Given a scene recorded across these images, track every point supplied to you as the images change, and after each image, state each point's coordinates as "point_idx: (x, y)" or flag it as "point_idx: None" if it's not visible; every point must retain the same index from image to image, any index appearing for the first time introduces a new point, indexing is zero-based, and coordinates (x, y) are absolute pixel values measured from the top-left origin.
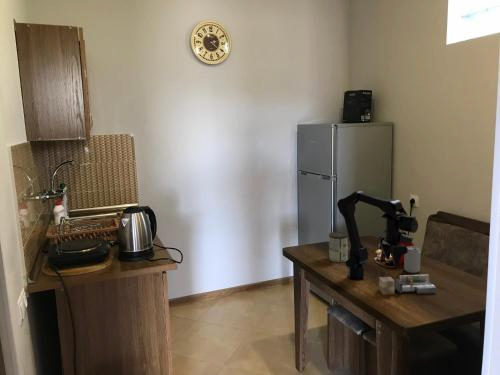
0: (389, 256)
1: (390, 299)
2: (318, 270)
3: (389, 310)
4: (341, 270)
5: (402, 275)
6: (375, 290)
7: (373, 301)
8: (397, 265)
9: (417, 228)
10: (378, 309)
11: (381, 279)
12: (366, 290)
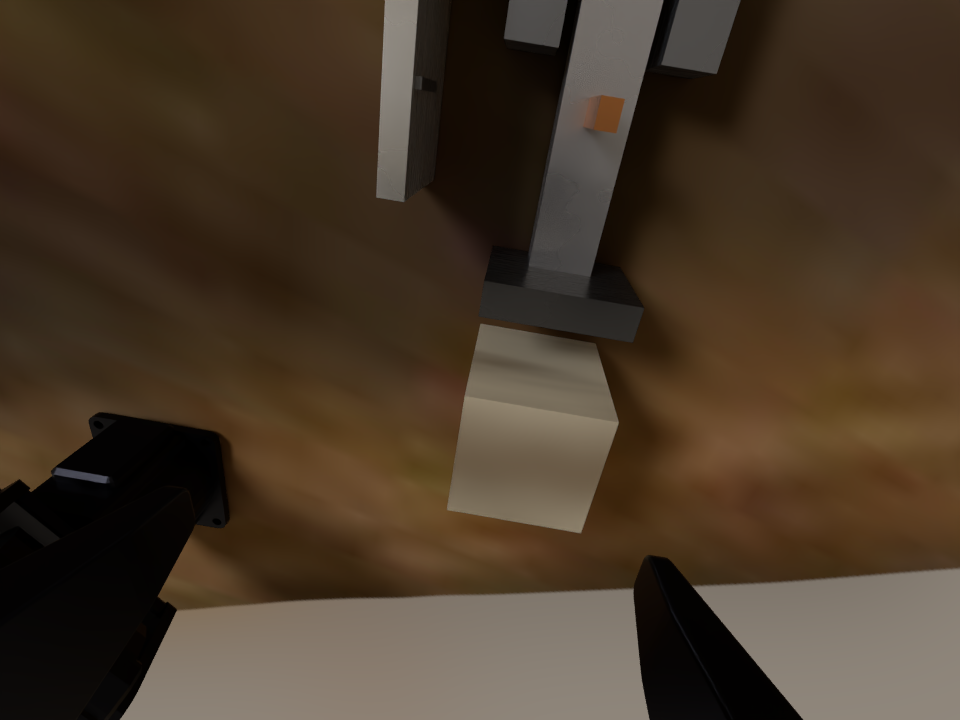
0: (136, 536)
1: (687, 430)
2: None
3: (858, 528)
4: None
5: (380, 153)
6: None
7: (662, 549)
8: (678, 577)
9: None
10: (797, 577)
11: (518, 520)
12: None
